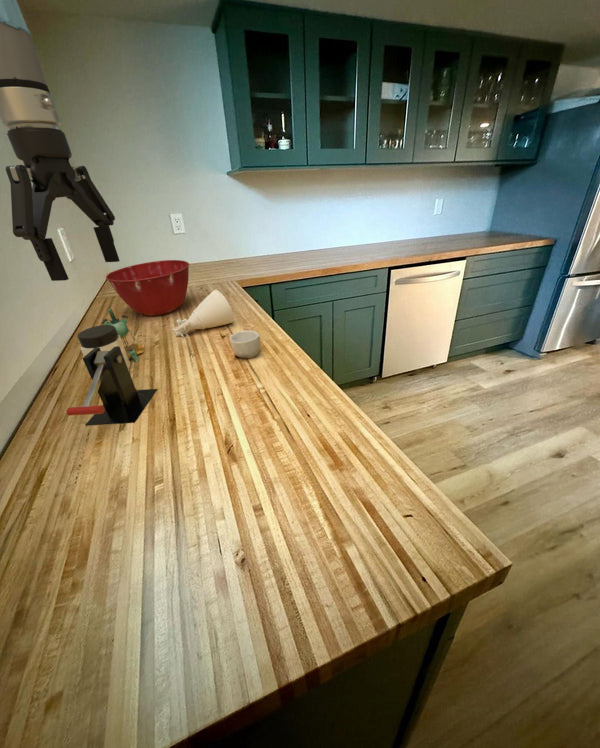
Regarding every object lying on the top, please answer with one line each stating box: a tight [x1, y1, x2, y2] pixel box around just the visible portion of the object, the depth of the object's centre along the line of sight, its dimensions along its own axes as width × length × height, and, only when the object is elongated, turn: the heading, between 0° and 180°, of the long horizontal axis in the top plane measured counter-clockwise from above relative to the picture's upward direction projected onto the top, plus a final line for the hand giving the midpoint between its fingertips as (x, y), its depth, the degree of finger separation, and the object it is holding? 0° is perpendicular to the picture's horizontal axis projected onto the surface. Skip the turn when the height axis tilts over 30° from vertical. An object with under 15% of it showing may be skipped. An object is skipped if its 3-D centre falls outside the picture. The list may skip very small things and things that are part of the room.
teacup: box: [229, 329, 261, 359], centre depth 89 cm, size 10×8×5 cm
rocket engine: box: [172, 289, 235, 338], centre depth 105 cm, size 12×12×18 cm
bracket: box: [82, 346, 158, 427], centre depth 68 cm, size 12×10×14 cm
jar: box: [76, 324, 131, 370], centre depth 82 cm, size 9×8×12 cm
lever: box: [65, 351, 109, 417], centre depth 62 cm, size 13×6×2 cm, turn 1°
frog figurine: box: [102, 308, 145, 363], centre depth 92 cm, size 10×18×15 cm, turn 27°
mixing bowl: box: [105, 259, 190, 317], centre depth 125 cm, size 28×28×15 cm
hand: (89, 270), depth 62 cm, fingers open, 13 cm apart
